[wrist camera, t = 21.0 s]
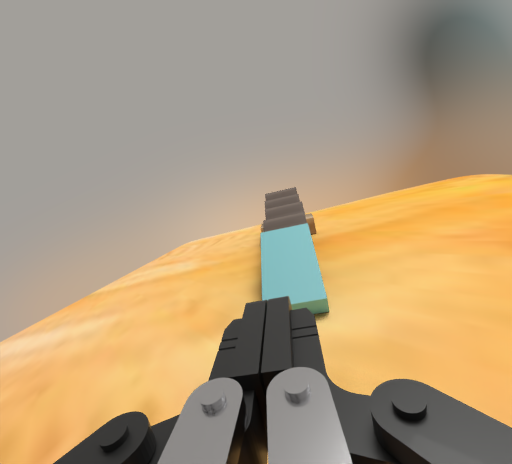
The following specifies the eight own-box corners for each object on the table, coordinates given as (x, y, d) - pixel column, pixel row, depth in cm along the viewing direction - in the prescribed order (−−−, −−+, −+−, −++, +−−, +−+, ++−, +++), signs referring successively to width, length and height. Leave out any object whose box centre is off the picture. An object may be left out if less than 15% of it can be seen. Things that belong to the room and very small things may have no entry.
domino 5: (327, 298, 22) (307, 223, 30) (262, 309, 23) (260, 232, 31) (329, 311, 23) (310, 235, 31) (267, 321, 23) (264, 244, 32)
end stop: (316, 233, 43) (313, 217, 43) (264, 243, 45) (260, 228, 44) (314, 228, 46) (311, 213, 46) (265, 238, 48) (262, 223, 47)
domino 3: (314, 255, 31) (301, 201, 39) (269, 263, 32) (265, 209, 39) (316, 264, 32) (303, 210, 40) (272, 272, 33) (267, 218, 40)
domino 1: (306, 230, 39) (295, 187, 46) (270, 237, 40) (265, 194, 47) (307, 238, 40) (297, 194, 47) (272, 245, 41) (267, 201, 48)
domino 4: (318, 273, 26) (304, 212, 34) (264, 282, 27) (263, 220, 35) (320, 284, 27) (306, 222, 35) (268, 293, 28) (266, 230, 36)
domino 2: (309, 243, 35) (298, 193, 42) (269, 251, 36) (264, 201, 43) (311, 251, 36) (299, 202, 44) (272, 259, 37) (267, 209, 44)
